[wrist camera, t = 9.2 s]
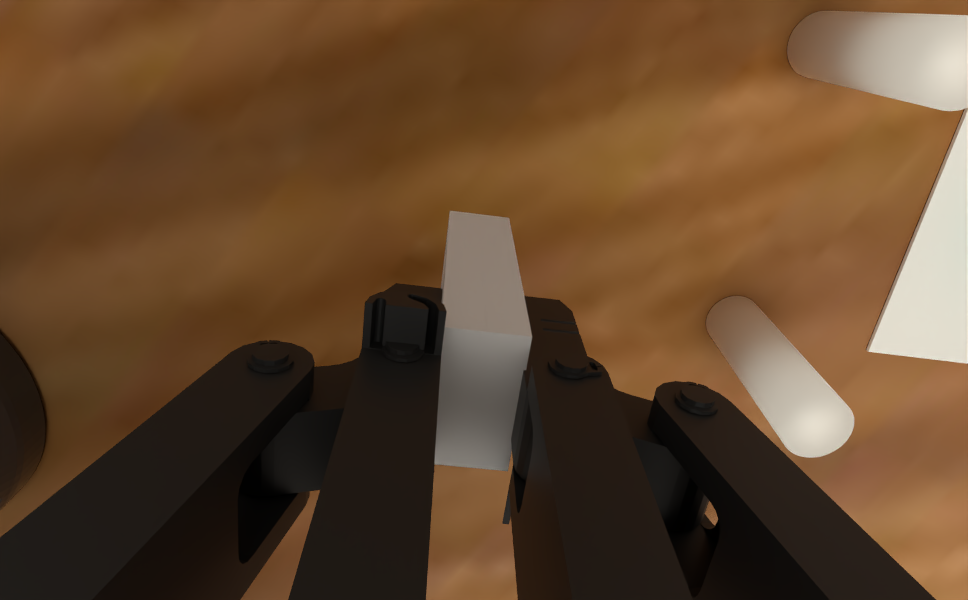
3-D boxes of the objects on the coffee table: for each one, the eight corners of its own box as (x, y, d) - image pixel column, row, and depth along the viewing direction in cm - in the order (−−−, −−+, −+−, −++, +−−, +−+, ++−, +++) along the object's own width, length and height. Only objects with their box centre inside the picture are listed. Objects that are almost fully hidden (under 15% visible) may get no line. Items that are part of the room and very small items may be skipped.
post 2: (778, 73, 28) (901, 104, 20) (798, 6, 27) (937, 9, 19) (838, 82, 28) (985, 116, 20) (860, 15, 27) (1025, 22, 19)
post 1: (699, 340, 33) (772, 453, 25) (713, 292, 32) (794, 393, 24) (750, 347, 33) (839, 461, 25) (766, 299, 32) (865, 401, 24)
